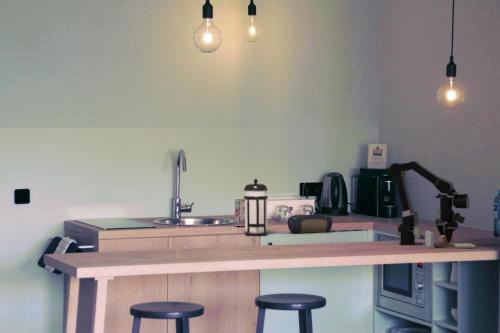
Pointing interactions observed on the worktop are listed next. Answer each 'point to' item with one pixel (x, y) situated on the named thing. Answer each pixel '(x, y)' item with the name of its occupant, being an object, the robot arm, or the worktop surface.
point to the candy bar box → (239, 210)
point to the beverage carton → (416, 232)
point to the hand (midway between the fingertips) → (446, 241)
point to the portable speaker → (310, 223)
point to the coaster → (463, 245)
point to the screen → (429, 239)
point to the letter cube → (445, 241)
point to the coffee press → (255, 208)
